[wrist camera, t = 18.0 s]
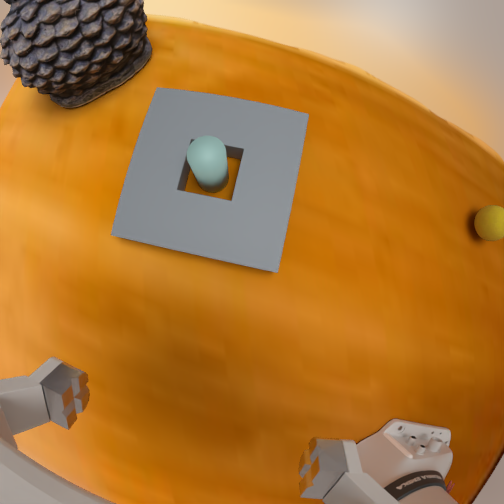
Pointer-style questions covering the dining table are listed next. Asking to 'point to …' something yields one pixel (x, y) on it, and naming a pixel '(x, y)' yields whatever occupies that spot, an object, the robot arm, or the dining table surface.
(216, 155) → the peg
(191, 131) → the cutout board
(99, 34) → the decorative house
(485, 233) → the lemon
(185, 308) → the dining table surface
